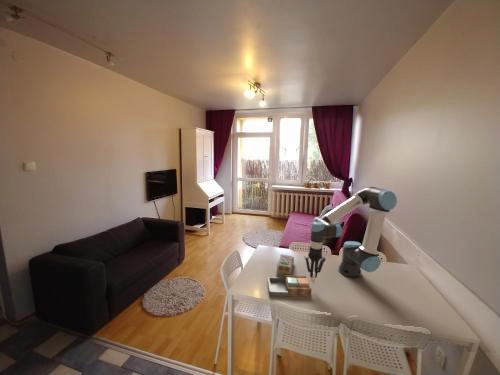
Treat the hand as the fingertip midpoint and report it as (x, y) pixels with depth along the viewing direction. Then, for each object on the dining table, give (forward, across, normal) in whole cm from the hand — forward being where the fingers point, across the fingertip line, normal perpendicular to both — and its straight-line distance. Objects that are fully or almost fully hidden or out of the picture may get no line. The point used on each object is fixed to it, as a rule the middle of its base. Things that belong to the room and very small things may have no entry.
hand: (312, 281), depth 142 cm
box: (+5, +22, 0) cm, 23 cm away
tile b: (+1, +13, 0) cm, 13 cm away
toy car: (+6, +14, -22) cm, 27 cm away
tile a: (+1, +6, 0) cm, 7 cm away
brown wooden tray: (+5, +10, 0) cm, 11 cm away
